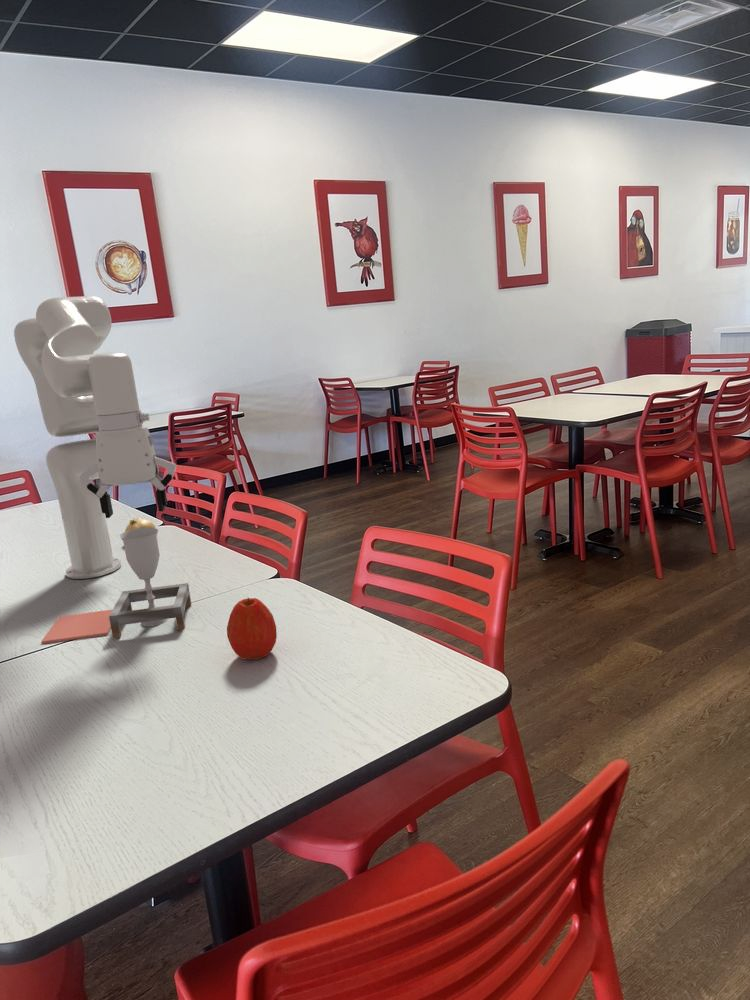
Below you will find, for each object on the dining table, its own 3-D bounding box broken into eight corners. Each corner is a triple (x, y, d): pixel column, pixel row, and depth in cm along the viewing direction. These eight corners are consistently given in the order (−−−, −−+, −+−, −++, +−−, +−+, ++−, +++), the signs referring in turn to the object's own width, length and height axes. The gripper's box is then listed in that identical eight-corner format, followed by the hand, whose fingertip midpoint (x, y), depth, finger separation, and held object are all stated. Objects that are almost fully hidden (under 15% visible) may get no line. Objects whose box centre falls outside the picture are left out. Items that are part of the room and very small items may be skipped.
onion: (135, 538, 199) (131, 513, 197) (162, 536, 198) (158, 512, 196) (121, 547, 191) (117, 522, 190) (149, 546, 190) (145, 520, 188)
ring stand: (126, 612, 145) (122, 591, 144) (191, 603, 146) (188, 582, 145) (113, 639, 132) (108, 616, 131) (184, 629, 134) (180, 606, 133)
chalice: (180, 614, 141) (165, 528, 137) (159, 629, 135) (143, 539, 130) (149, 612, 144) (134, 527, 139) (127, 626, 137) (111, 538, 133)
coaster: (59, 618, 144) (59, 616, 144) (120, 610, 146) (120, 608, 146) (41, 643, 133) (41, 641, 133) (107, 634, 134) (107, 632, 134)
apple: (238, 672, 115) (229, 611, 113) (224, 653, 122) (216, 595, 120) (286, 658, 119) (278, 598, 116) (270, 640, 126) (262, 584, 123)
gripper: (171, 415, 134) (185, 503, 138) (76, 425, 132) (93, 514, 136) (165, 419, 127) (180, 512, 131) (65, 430, 125) (83, 524, 129)
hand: (136, 513), depth 134 cm, fingers open, 9 cm apart
